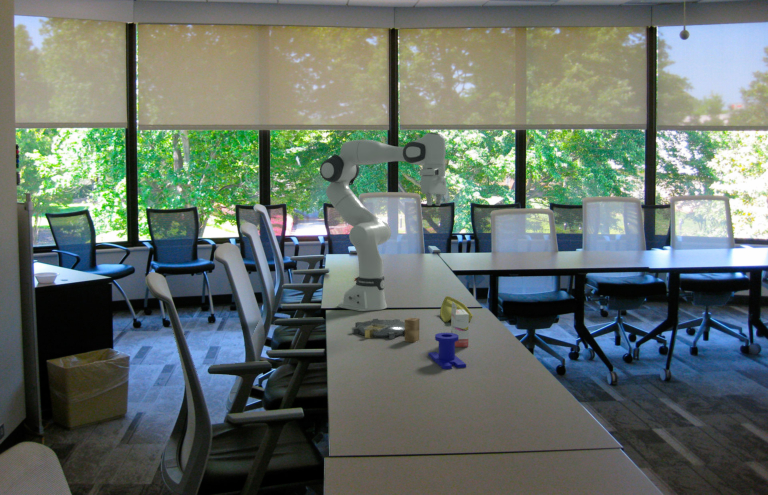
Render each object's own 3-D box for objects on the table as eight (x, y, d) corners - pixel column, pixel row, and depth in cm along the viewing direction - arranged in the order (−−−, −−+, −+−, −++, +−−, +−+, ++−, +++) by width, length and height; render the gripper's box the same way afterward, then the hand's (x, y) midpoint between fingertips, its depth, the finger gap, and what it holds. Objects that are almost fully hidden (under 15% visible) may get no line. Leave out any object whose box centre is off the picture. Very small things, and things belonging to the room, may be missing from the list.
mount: (428, 356, 207) (428, 330, 206) (449, 354, 209) (449, 329, 207) (443, 369, 192) (443, 342, 191) (466, 367, 194) (466, 340, 193)
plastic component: (474, 317, 252) (452, 307, 250) (465, 332, 253) (444, 323, 251) (464, 303, 271) (444, 294, 269) (456, 317, 272) (436, 308, 270)
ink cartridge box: (469, 347, 217) (469, 305, 215) (455, 347, 216) (455, 306, 214) (463, 340, 225) (464, 300, 223) (450, 340, 225) (450, 301, 223)
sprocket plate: (340, 334, 234) (340, 326, 234) (371, 320, 255) (371, 313, 255) (395, 342, 223) (395, 334, 222) (424, 327, 244) (424, 320, 243)
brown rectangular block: (404, 341, 225) (404, 319, 224) (409, 338, 228) (409, 317, 227) (414, 342, 223) (414, 320, 222) (419, 339, 226) (419, 318, 225)
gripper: (436, 173, 268) (435, 205, 269) (418, 170, 249) (417, 205, 250) (450, 173, 265) (449, 205, 266) (432, 170, 246) (432, 205, 247)
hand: (433, 205), depth 258 cm, fingers open, 8 cm apart
